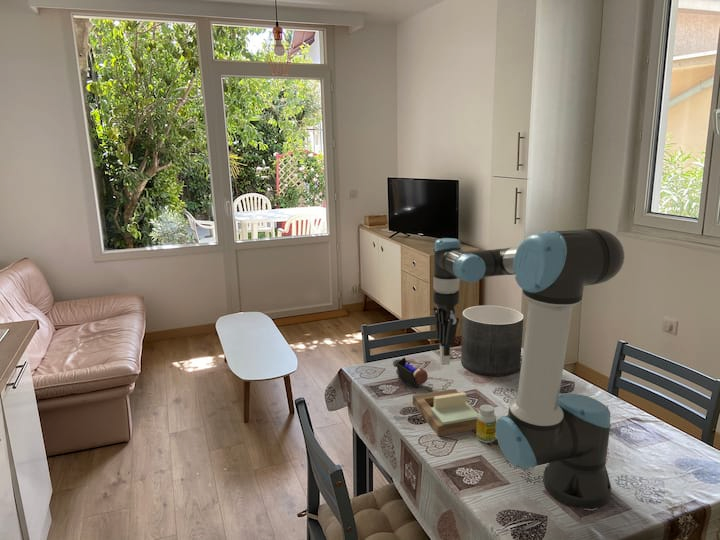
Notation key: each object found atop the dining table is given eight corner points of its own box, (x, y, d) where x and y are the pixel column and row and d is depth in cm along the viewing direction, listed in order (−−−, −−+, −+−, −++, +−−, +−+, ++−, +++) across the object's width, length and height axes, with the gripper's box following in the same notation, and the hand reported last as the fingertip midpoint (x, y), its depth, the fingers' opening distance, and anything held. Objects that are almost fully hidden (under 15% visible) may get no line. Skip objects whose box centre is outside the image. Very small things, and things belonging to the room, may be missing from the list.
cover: (480, 418, 151) (480, 405, 150) (442, 424, 148) (443, 411, 147) (466, 404, 159) (466, 391, 158) (430, 409, 156) (430, 397, 155)
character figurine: (405, 372, 191) (429, 388, 178) (388, 375, 187) (412, 392, 174) (406, 352, 189) (431, 367, 176) (390, 355, 185) (414, 370, 173)
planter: (510, 382, 181) (513, 328, 176) (451, 368, 193) (453, 317, 188) (527, 360, 199) (530, 311, 194) (473, 349, 211) (475, 302, 206)
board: (484, 427, 152) (485, 418, 151) (438, 436, 148) (438, 426, 147) (454, 397, 171) (455, 388, 170) (412, 403, 167) (412, 395, 166)
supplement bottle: (485, 431, 150) (486, 401, 148) (499, 439, 146) (501, 408, 144) (472, 436, 147) (473, 406, 145) (486, 445, 143) (487, 414, 141)
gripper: (467, 294, 148) (465, 370, 153) (448, 283, 160) (446, 354, 165) (444, 297, 146) (442, 374, 151) (426, 286, 158) (425, 357, 163)
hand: (444, 363), depth 158 cm, fingers closed
